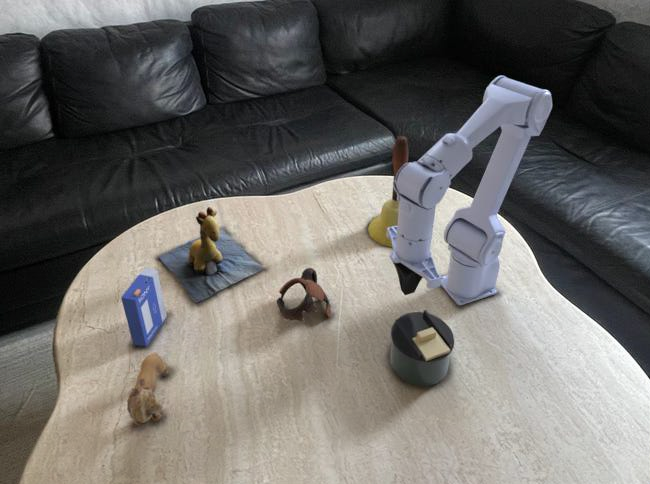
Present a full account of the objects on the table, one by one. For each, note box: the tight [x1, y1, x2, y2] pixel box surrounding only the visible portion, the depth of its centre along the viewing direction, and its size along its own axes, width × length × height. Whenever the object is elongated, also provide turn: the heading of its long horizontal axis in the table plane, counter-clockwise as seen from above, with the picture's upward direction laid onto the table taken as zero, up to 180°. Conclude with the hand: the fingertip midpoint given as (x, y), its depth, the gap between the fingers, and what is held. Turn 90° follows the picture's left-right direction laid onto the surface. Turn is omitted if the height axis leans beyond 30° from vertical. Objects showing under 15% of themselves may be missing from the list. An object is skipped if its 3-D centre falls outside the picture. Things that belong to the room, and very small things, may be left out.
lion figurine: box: [126, 352, 170, 427], centre depth 81 cm, size 15×5×9 cm, turn 13°
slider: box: [412, 327, 450, 361], centre depth 84 cm, size 4×5×2 cm
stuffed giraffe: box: [157, 206, 264, 304], centre depth 109 cm, size 16×18×16 cm
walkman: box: [120, 267, 168, 348], centre depth 94 cm, size 8×3×12 cm, turn 166°
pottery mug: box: [276, 267, 332, 323], centre depth 100 cm, size 12×10×8 cm
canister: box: [389, 309, 455, 387], centre depth 88 cm, size 11×11×8 cm
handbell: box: [367, 135, 410, 248], centre depth 116 cm, size 12×12×25 cm
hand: (408, 291), depth 91 cm, fingers closed
